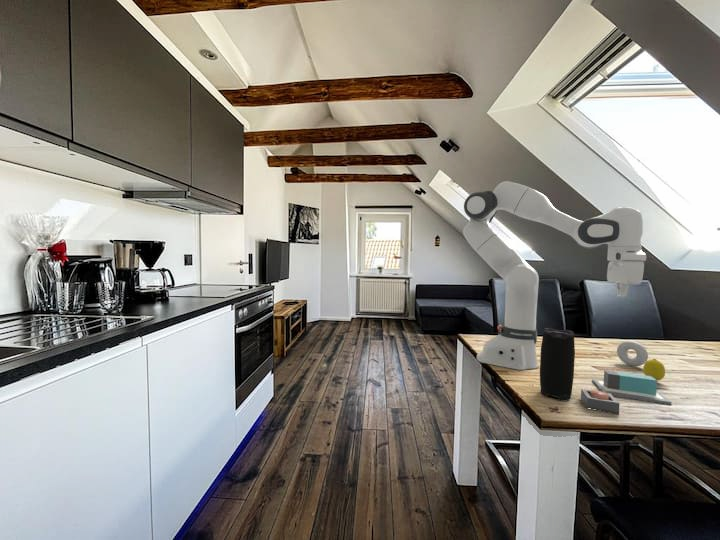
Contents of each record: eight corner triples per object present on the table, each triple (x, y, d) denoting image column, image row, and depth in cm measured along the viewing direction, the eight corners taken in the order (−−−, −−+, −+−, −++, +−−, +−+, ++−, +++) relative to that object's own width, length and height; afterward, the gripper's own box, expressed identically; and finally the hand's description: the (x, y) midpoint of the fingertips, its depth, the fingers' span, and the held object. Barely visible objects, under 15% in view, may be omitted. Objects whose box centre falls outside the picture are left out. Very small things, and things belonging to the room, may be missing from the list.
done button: (592, 405, 88) (593, 394, 88) (588, 399, 92) (588, 389, 92) (610, 408, 86) (610, 397, 86) (605, 402, 90) (606, 391, 90)
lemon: (668, 385, 107) (670, 361, 107) (649, 383, 108) (651, 360, 108) (657, 379, 113) (658, 357, 112) (638, 378, 114) (640, 355, 114)
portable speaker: (571, 393, 97) (575, 329, 97) (572, 405, 89) (576, 335, 89) (539, 387, 102) (542, 326, 101) (537, 397, 94) (541, 330, 93)
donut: (649, 369, 124) (650, 343, 124) (645, 370, 123) (646, 344, 123) (618, 361, 133) (619, 337, 133) (614, 362, 132) (615, 338, 131)
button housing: (587, 408, 87) (587, 398, 87) (580, 399, 94) (581, 388, 94) (619, 414, 85) (619, 403, 84) (609, 403, 91) (610, 393, 91)
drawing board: (603, 394, 98) (603, 391, 98) (592, 381, 109) (592, 378, 109) (671, 404, 92) (671, 401, 92) (652, 389, 103) (652, 387, 103)
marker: (607, 388, 101) (608, 373, 101) (603, 383, 104) (604, 370, 104) (656, 395, 96) (657, 380, 96) (650, 390, 100) (651, 376, 100)
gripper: (602, 256, 119) (600, 293, 120) (623, 254, 100) (621, 298, 101) (623, 256, 117) (621, 294, 117) (649, 255, 98) (646, 300, 98)
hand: (621, 296), depth 109 cm, fingers closed
